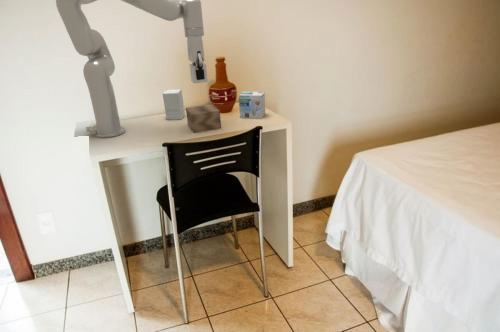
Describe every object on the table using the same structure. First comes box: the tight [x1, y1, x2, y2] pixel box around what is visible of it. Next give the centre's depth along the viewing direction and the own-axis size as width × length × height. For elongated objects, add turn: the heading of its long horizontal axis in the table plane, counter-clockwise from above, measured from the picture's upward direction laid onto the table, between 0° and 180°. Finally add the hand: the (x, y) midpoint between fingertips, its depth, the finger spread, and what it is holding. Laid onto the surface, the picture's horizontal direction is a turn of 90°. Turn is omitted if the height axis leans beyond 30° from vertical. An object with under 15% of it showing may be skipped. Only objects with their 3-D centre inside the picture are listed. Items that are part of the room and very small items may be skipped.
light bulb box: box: [238, 91, 266, 120], centre depth 181 cm, size 11×7×11 cm, turn 73°
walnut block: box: [185, 103, 222, 134], centre depth 172 cm, size 12×12×8 cm
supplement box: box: [162, 88, 186, 121], centre depth 185 cm, size 7×7×13 cm
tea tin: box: [189, 62, 208, 84], centre depth 164 cm, size 6×6×7 cm
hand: (199, 77), depth 164 cm, fingers closed on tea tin, 5 cm apart
